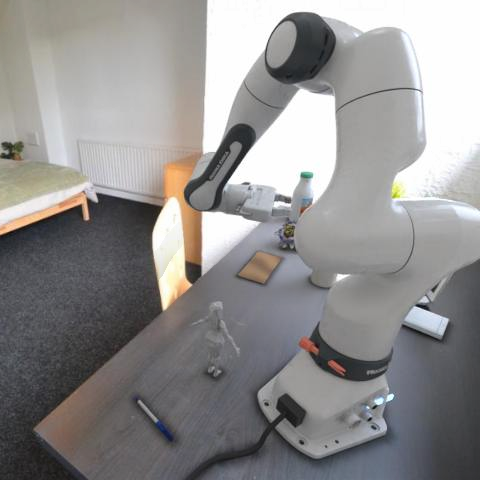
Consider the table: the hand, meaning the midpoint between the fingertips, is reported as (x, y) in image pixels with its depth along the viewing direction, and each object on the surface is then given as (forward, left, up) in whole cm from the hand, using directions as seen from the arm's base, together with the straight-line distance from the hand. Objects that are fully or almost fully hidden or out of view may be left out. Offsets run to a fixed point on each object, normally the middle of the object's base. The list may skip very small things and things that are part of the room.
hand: (291, 205), depth 91 cm
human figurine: (-40, -21, -22) cm, 50 cm away
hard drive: (+13, -31, -22) cm, 40 cm away
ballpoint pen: (-55, -24, -23) cm, 64 cm away
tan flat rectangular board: (-2, +6, -22) cm, 23 cm away
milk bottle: (+37, +26, -22) cm, 50 cm away
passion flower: (+18, +11, -22) cm, 31 cm away
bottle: (+8, -9, -22) cm, 25 cm away
